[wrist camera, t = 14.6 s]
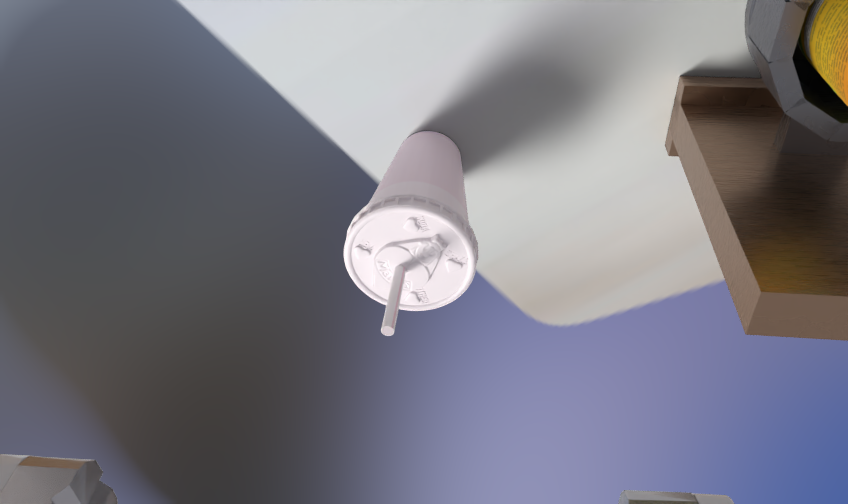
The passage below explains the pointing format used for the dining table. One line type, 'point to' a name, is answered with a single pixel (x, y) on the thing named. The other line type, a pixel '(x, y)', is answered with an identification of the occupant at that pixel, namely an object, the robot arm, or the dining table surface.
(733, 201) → the cup bracket
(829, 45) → the supplement bottle
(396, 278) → the smoothie
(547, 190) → the dining table surface
